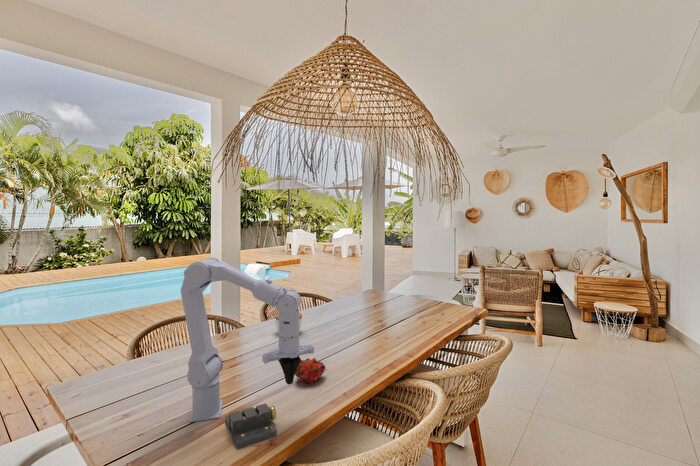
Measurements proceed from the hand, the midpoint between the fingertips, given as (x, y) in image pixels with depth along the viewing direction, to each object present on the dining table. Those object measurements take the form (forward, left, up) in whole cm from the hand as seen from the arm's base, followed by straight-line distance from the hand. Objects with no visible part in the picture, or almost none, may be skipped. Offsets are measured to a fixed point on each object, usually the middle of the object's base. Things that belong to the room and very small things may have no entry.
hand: (289, 382), depth 99 cm
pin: (+3, -10, -9) cm, 14 cm away
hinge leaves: (+3, -11, -10) cm, 15 cm away
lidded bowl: (-70, +7, -10) cm, 71 cm away
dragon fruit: (-20, +9, -10) cm, 24 cm away
